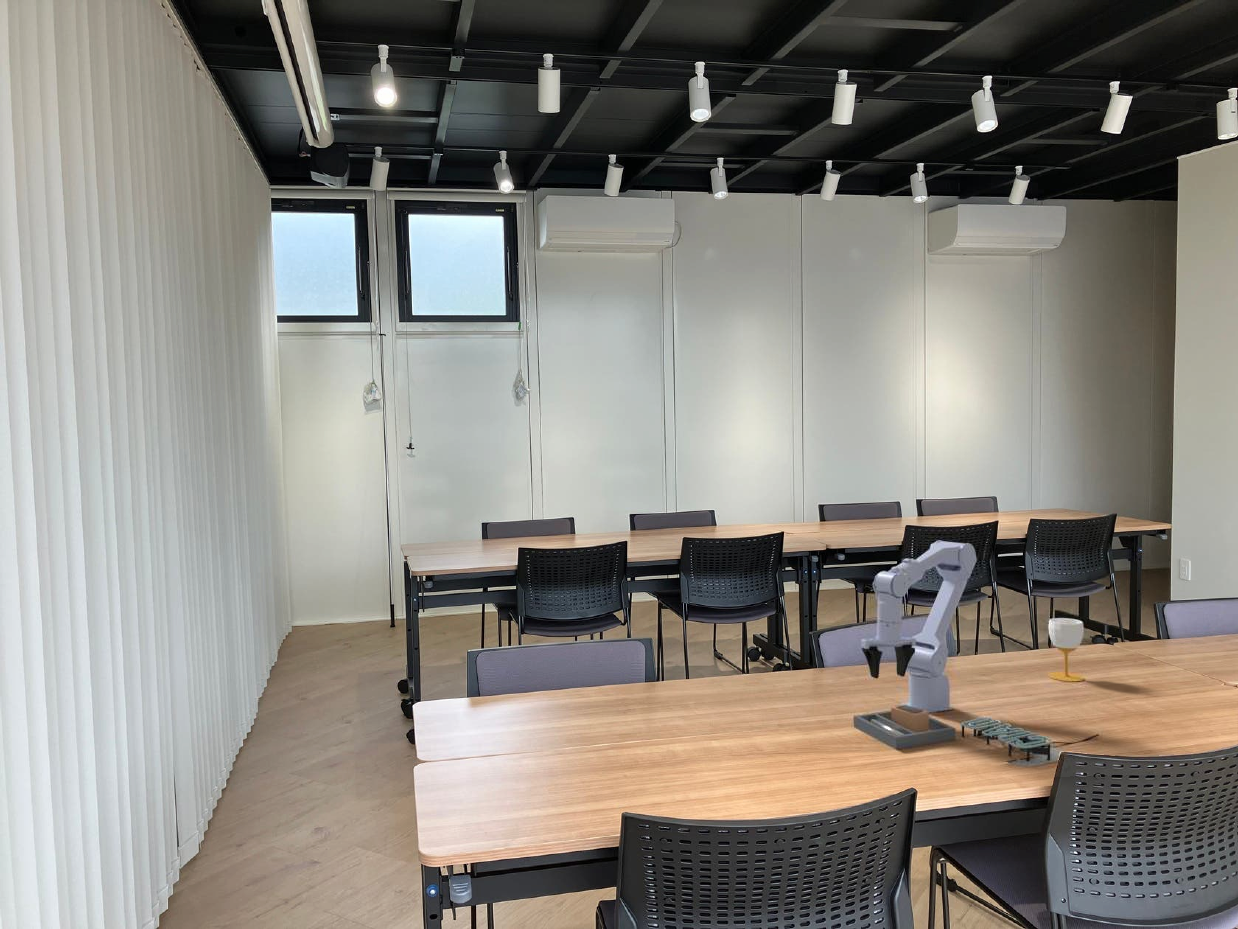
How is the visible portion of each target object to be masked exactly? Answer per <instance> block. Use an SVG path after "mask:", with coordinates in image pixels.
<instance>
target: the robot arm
mask: <svg viewBox="0 0 1238 929" xmlns="http://www.w3.org/2000/svg"><path fill="white" fill-rule="evenodd" d="M977 560H978V558H977V554H976V550H975V547H974V546H973V544H972V543H968V542H967V543H962V542H953V541H943V540H936V541H935V542H933V543H931V544H930V547H929V549H928V550H926V551H925V552H924V553H922V554H921V555H920V556H918V557H917V558H916V559H913V558H904V559H903V560H902V562H900V563H899V564H898V565H896V566H892V567H891V569H890V570H888V571H886V570H883V571H880V572H879V573H877V574H876V575H875V576H874V580H873V582H872V589H873V591H874V593H875V599H876V600H875V601H877V616H876V635H875V637H870V638H863V639H861V640H860V641H861V643H860V647H861V651H862V652H863V654H864V656H865V659H866V661H867V664H868V665H867V666H868V669H869V672H870V677H871V678H874V679H879V675H880V666H881V665H880V663H881V659H882V656H883V651H881V650H879V648H894V652H895V657H896V659H895V660H896V675H897V676H899V677H902V678H903V677H905V676H906V673H907V672H908V701H906V702H902V703H901V705H903V704H905V705H908V706H912V707H915V708H918V709H921V710H925V711H928V712H929V713H937V712H943V711H944V712H945V711H950V710H952V709H953V707H952V706H950V704H951V703H950V699H951V697H950V695H951V694H950V691H951V689H950V682H949V678H948V677H947V675H946V674H945V673H944V671H945V670H946V668H947V661H948V659H947V658H948V655H949V652H950V651H949V650H948V648H947V646H946V645H945V643H944V638H945V636H946V634H947V632H948V629H949V626H950V623H951V622H952V619H953V616H954V614H955V612H956V609H957V607H958V606H959V602H960V600H961V598H962V595H963V593H964V591H965V588H966V585H967V583H968V580H969V579H970V577H971V574H972V572H973V570H974V568H975V565H976V563H977ZM934 567H935V569H936V571H937V573H938V575H939V576H941V577H942V579H943V581H942V583H941V586H940V589H939V591H938V593H937V596H936V597H935V601H934V603H933V605H932V607H931V609H930V612H929V613H928V617H927V620H926V622H925V624H924V626H923V629H922V631H921V632H919V633H918V634H916V635H913V636H912V637H911V636H907V637H906V636H902V620H903V617H902V615H903V613H902V611H903V597H905V595H906V594H907V592H908V590H909V588H911V586H913V585H914V584H916V583H917V582H918V581H920V580H922V578H923V577H924V573H925V572H926V571H928V570H930V569H932V568H934Z"/></svg>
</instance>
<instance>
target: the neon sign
mask: <svg viewBox="0 0 1238 929" xmlns="http://www.w3.org/2000/svg"><path fill="white" fill-rule="evenodd" d="M966 724H967V725H966ZM965 728H967V729H970V730H973V735H971V737H972V738H973V737H974V738H975V737H977V738H978V737H983V736H986V746H987V745H988V746H989V745H990V740H991V741H992V740H993V741H994V740H995V741H996V740H999V741H1001V742H1003V743H1005V744H1007V746H1008V757H1010V758H1013V757H1012V751H1013V748H1017V749H1019V750H1020V751H1023V752H1024V753H1025V752H1026V757H1023V758H1019V759H1013V760H1006V763H1010V764H1012V765H1016V766H1021V767H1022V766H1023V767H1037V766H1041V765H1046V764H1051V763H1054V762H1059V761H1058V758H1059V752H1060V751H1063V750H1062V749H1059V748H1056V747H1052V744H1067V745H1069V744H1077V743H1082V742H1086V741H1089V740H1091V739H1094V738H1097V737H1099V736H1100V734H1095V735H1092V736H1089V737H1086V738H1084V739H1082V740H1078V741H1075V742H1073V741H1072V742H1065V741H1064V742H1063V741H1054V740H1053V739H1051V738H1049V737H1047V736H1044V735H1038V733H1037V732H1031V731H1029V730H1025V729H1024V728H1022V727H1014V728H1012V725H1011V724H1010V723H1004V724H1002V722H1001V720H999V719H996V720H995V721H994V719H993V718H991V717H979V718H974V719H970V720H965V721H962V722H961V738H965ZM1046 741H1047V742H1046ZM1031 755H1032V756H1031Z"/></svg>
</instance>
